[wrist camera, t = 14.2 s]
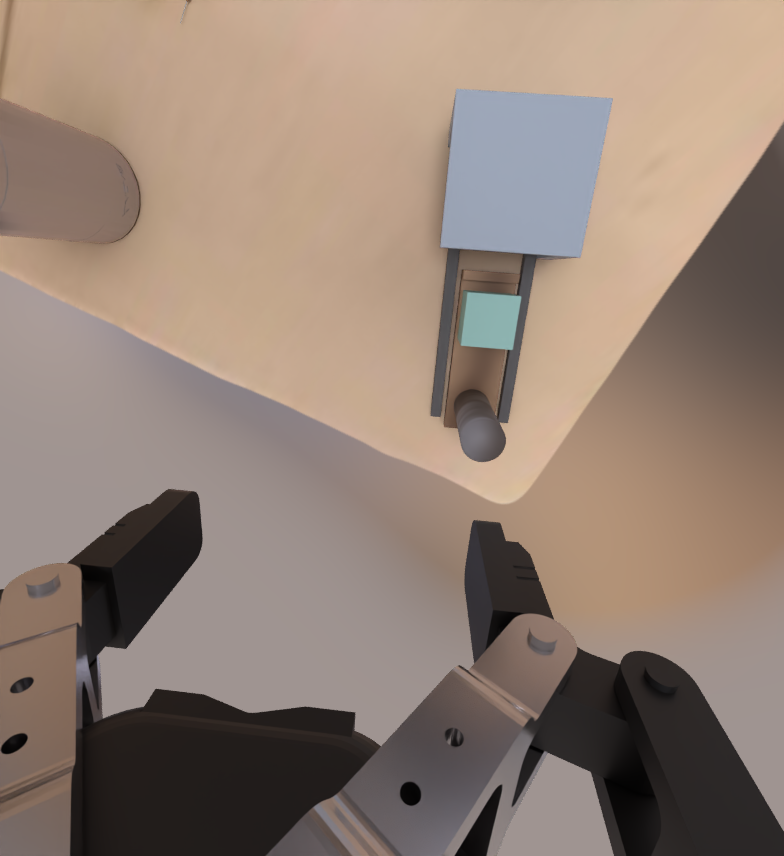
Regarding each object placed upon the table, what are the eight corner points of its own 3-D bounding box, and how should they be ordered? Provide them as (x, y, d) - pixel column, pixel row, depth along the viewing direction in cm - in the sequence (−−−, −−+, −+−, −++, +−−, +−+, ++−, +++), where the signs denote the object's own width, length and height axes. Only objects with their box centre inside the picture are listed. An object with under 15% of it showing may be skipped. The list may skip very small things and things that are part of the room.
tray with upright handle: (443, 423, 47) (449, 466, 37) (462, 269, 42) (474, 270, 32) (490, 427, 47) (509, 472, 37) (515, 273, 42) (544, 275, 31)
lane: (430, 413, 47) (430, 416, 46) (458, 154, 39) (459, 151, 38) (506, 420, 47) (507, 423, 46) (550, 160, 38) (553, 157, 38)
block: (457, 338, 43) (461, 345, 39) (463, 289, 41) (467, 292, 37) (503, 342, 43) (512, 350, 39) (511, 293, 41) (521, 296, 37)
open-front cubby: (437, 251, 42) (440, 246, 34) (449, 127, 38) (456, 88, 30) (549, 259, 41) (580, 257, 33) (572, 134, 38) (612, 98, 30)
